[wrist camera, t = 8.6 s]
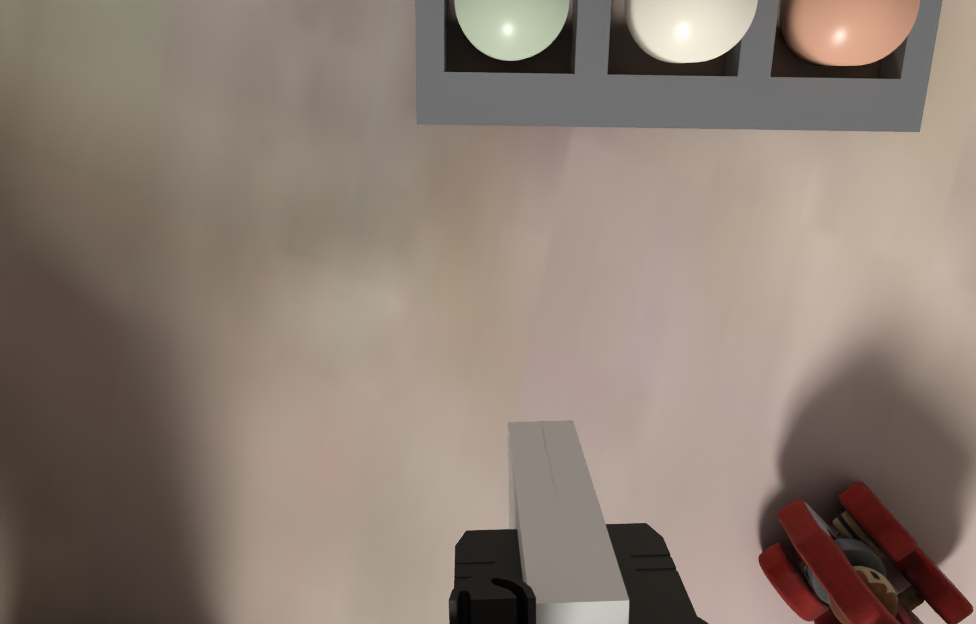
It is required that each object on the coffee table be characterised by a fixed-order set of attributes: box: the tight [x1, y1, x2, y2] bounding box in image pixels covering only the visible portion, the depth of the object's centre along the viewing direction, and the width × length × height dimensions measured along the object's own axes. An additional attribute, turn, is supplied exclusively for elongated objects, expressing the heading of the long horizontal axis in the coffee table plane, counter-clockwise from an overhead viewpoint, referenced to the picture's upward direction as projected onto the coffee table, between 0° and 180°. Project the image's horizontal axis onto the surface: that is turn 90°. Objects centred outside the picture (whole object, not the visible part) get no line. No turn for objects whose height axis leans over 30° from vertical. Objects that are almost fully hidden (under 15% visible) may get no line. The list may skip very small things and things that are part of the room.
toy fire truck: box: [759, 481, 973, 624], centre depth 38 cm, size 7×12×10 cm, turn 43°
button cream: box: [625, 0, 758, 63], centre depth 31 cm, size 5×5×3 cm
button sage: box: [455, 0, 570, 61], centre depth 33 cm, size 5×5×3 cm
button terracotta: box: [780, 0, 920, 66], centre depth 33 cm, size 5×5×3 cm
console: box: [415, 0, 942, 132], centre depth 34 cm, size 22×10×2 cm, turn 89°
